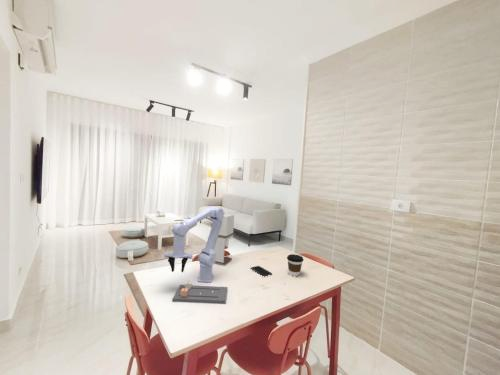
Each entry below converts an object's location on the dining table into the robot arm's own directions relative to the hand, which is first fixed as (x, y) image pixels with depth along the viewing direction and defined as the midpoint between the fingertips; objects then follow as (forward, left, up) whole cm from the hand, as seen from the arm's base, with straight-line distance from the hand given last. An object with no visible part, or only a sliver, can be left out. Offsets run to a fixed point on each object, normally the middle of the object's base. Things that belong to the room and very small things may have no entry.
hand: (177, 271), depth 122 cm
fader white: (0, +6, -9) cm, 10 cm away
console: (+4, +14, -10) cm, 18 cm away
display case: (-43, +20, -11) cm, 49 cm away
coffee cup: (-27, +70, -11) cm, 76 cm away
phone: (-29, +48, -11) cm, 57 cm away
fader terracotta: (+8, +6, -9) cm, 13 cm away
